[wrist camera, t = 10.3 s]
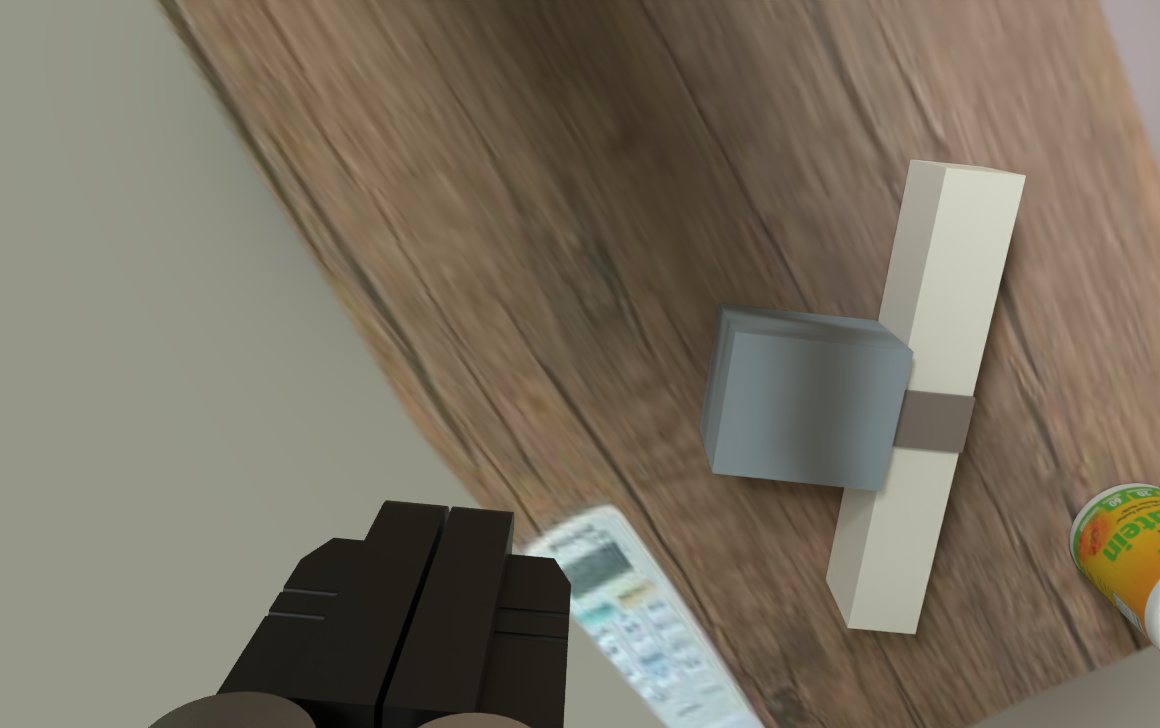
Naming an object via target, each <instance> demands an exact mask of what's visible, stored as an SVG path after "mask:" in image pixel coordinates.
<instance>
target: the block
mask: <svg viewBox="0 0 1160 728" xmlns="http://www.w3.org/2000/svg"><path fill="white" fill-rule="evenodd" d="M913 353H914V352H913V351H912V350H911V349H910V348H909V347H908V346H906V345H905V344H904V343H903V342H902V341H900V340H899V339H898V338H897V337H896V336H894V335H893V334H892V333H891V332H890V331H889V330H887V329H886V328H885V327H884V326H883V325H881V324H880V323H879V322H878V321H877V320H868V319H859V318H850V317H841V316H831V315H822V314H813V313H804V312H795V311H786V310H777V309H768V308H759V307H750V306H741V305H731V304H722V303H719V308H718V314H717V320H716V327H715V333H714V339H713V345H712V352H711V358H710V364H709V371H708V377H707V383H706V389H705V396H704V402H703V408H702V415H701V421H700V427H699V431H700V434H701V437H702V441H703V444H704V448H705V451H706V455H707V458H708V461H709V465H710V468H711V472H712V473H715V474H725V475H734V476H743V477H752V478H762V479H771V480H780V481H789V482H799V483H808V484H817V485H827V486H836V487H845V488H854V489H864V490H873V491H882V488H883V483H884V479H885V475H886V470H887V466H888V462H889V457H890V453H891V449H892V444H893V440H894V436H895V431H896V427H897V423H898V418H899V414H900V409H901V405H902V401H903V396H904V392H905V388H906V383H907V379H908V375H909V370H910V366H911V362H912V357H913Z"/></svg>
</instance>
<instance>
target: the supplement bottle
mask: <svg viewBox="0 0 1160 728" xmlns="http://www.w3.org/2000/svg"><path fill="white" fill-rule="evenodd" d="M1069 542H1070V551H1071V554H1072V557H1073V559H1074V561H1075V563H1076V565H1077V566H1078V568H1079V569H1080V570H1081V571H1082V572H1083V574H1084V575H1085V576H1086V577H1087V578H1088V579H1089V580H1090V581H1091V582H1092V583H1093V584H1094V585H1095V586H1096V587H1097V588H1098V589H1099V590H1100V591H1101V592H1102V593H1103V594H1104V595H1105V596H1106V597H1107V598H1108V599H1109V600H1110V601H1111V602H1112V603H1113V604H1114V605H1115V606H1116V607H1117V608H1118V609H1119V610H1120V611H1121V612H1122V613H1123V614H1124V615H1125V616H1126V617H1127V618H1128V619H1129V620H1130V621H1131V622H1132V623H1133V624H1134V625H1135V626H1136V627H1137V628H1138V629H1139V630H1140V631H1141V633H1142V634H1143V635H1144V636H1145V637H1146V638H1147V639H1148V640H1149V641H1150V642H1151V643H1152V644H1153V645H1154V646H1155V647H1156V648H1157V649H1158V650H1159V651H1160V488H1159V487H1156V486H1153V485H1149V484H1141V483H1131V484H1123V485H1119V486H1115V487H1112V488H1110V489H1107V490H1105V491H1103V492H1102V493H1100V494H1098V495H1097V496H1095V497H1094V498H1093V499H1091V500H1090V501H1089V502H1088V503H1087V504H1086V505H1085V506H1084V507H1083V508H1082V509H1081V511H1080V512H1079V514H1078V515H1077V517H1076V519H1075V521H1074V523H1073V525H1072V528H1071V532H1070V540H1069Z"/></svg>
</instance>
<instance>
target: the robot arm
mask: <svg viewBox="0 0 1160 728" xmlns="http://www.w3.org/2000/svg"><path fill="white" fill-rule="evenodd" d="M513 531H514V512H506V511H496V510H485V509H474V508H464V507H452V508H451V511H450V512H449V507H448V506H441V505H430V504H419V503H409V502H399V501H388V500H386V501H385V502H384V503H383V505H382V507H381V509H380V511H379V513H378V515H377V517H376V519H375V521H374V522H373V525H372V526H371V528H370V530H369V532H368V534H367V536H366V538H365V540H364V541H363V540H351V539H341V538H333V539H331V540H330V541H328V542H327V543H325V544H324V545H322V546H320V547H319V548H317V549H316V550H314V551H313V552H311V553H310V554H308V555H307V556H305V557H304V558H302V559H301V560H300V562H299V563H298V565H297V566H296V568H295V570H294V571H293V573H292V574H291V576H290V578H289V579H288V581H287V582H286V584H285V585H284V589H283V592H280V593H279V595H278V597H277V598H276V600H275V601H274V603H273V605H272V606H271V608H270V609H269V614H268V616H265V617H264V619H263V621H262V622H261V624H260V625H259V627H258V629H257V630H256V632H255V633H254V635H253V637H252V638H251V640H250V641H249V643H248V644H247V646H246V648H245V649H244V651H243V652H242V654H241V656H240V657H239V659H238V660H237V662H236V664H235V665H234V667H233V668H232V670H231V671H230V673H229V675H228V676H227V678H226V679H225V681H224V683H223V684H222V686H221V687H220V689H219V691H218V692H217V694H216V695H213V696H209V697H204V698H202V699H199V700H195V701H193V702H190V703H187V704H185V705H183V706H181V707H179V708H177V709H174V710H173V711H171V712H169V713H168V714H166V715H164V716H163V717H161V718H160V719H158V720H157V721H156V722H155V723H154V724H152V725H151V726H150V727H148V728H563V724H564V705H565V686H566V668H567V649H568V631H569V613H570V594H571V584H570V582H569V581H568V579H567V577H566V576H565V574H564V573H563V571H562V570H561V568H560V567H559V565H558V564H557V562H556V560H555V559H554V558H545V557H534V556H524V555H512V544H513Z"/></svg>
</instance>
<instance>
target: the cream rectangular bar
mask: <svg viewBox="0 0 1160 728" xmlns="http://www.w3.org/2000/svg"><path fill="white" fill-rule="evenodd" d="M1025 177H1026V176H1025V175H1020V174H1015V173H1011V172H1006V171H1001V170H996V169H992V168H987V167H982V166H972V165H962V164H952V163H942V162H932V161H922V160H912V159H911V160H910V165H909V170H908V175H907V180H906V185H905V190H904V195H903V200H902V205H901V210H900V215H899V220H898V225H897V230H896V235H895V239H894V244H893V249H892V254H891V259H890V264H889V269H888V274H887V279H886V284H885V289H884V294H883V299H882V304H881V309H880V314H879V319H878V322H879V323H880V324H881V325H883V326H884V327H885V328H886V329H887V330H889V331H890V332H891V333H892V334H893V335H894V336H896V337H897V338H898V339H899V340H900V341H902V342H903V343H904V344H905V345H906V346H908V347H909V348H910V349H911V350H912V351H913V352H914V353H913V357H912V362H911V366H910V370H909V375H908V379H907V383H906V388H905V392H904V396H903V401H902V405H901V409H900V414H899V418H898V423H897V427H896V431H895V436H894V440H893V444H892V449H891V453H890V457H889V462H888V466H887V470H886V475H885V479H884V483H883V488H882V491H873V490H864V489H854V488H845V487H844V492H843V497H842V502H841V507H840V512H839V516H838V521H837V526H836V531H835V536H834V541H833V546H832V551H831V556H830V561H829V566H828V571H827V576H826V582H827V584H828V586H829V588H830V590H831V592H832V595H833V597H834V599H835V601H836V603H837V606H838V608H839V610H840V612H841V614H842V616H843V619H844V621H845V623H846V625H847V627H848V628H855V629H865V630H876V631H887V632H897V633H908V634H915V633H916V629H917V625H918V620H919V616H920V612H921V608H922V604H923V600H924V596H925V591H926V587H927V583H928V579H929V575H930V571H931V567H932V562H933V558H934V554H935V550H936V546H937V542H938V538H939V533H940V529H941V525H942V521H943V517H944V513H945V509H946V504H947V500H948V496H949V492H950V488H951V484H952V480H953V475H954V471H955V467H956V463H957V459H958V455H959V453H963V449H964V445H965V441H966V437H967V432H968V428H969V424H970V420H971V416H972V412H973V408H974V404H975V399H976V398H975V397H974V396H973V393H974V388H975V384H976V380H977V376H978V372H979V368H980V364H981V359H982V355H983V351H984V347H985V343H986V339H987V335H988V331H989V326H990V322H991V318H992V314H993V310H994V306H995V302H996V297H997V293H998V289H999V285H1000V281H1001V277H1002V273H1003V268H1004V264H1005V260H1006V256H1007V252H1008V248H1009V244H1010V239H1011V235H1012V231H1013V227H1014V223H1015V219H1016V215H1017V210H1018V206H1019V202H1020V198H1021V194H1022V190H1023V186H1024V181H1025Z"/></svg>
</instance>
